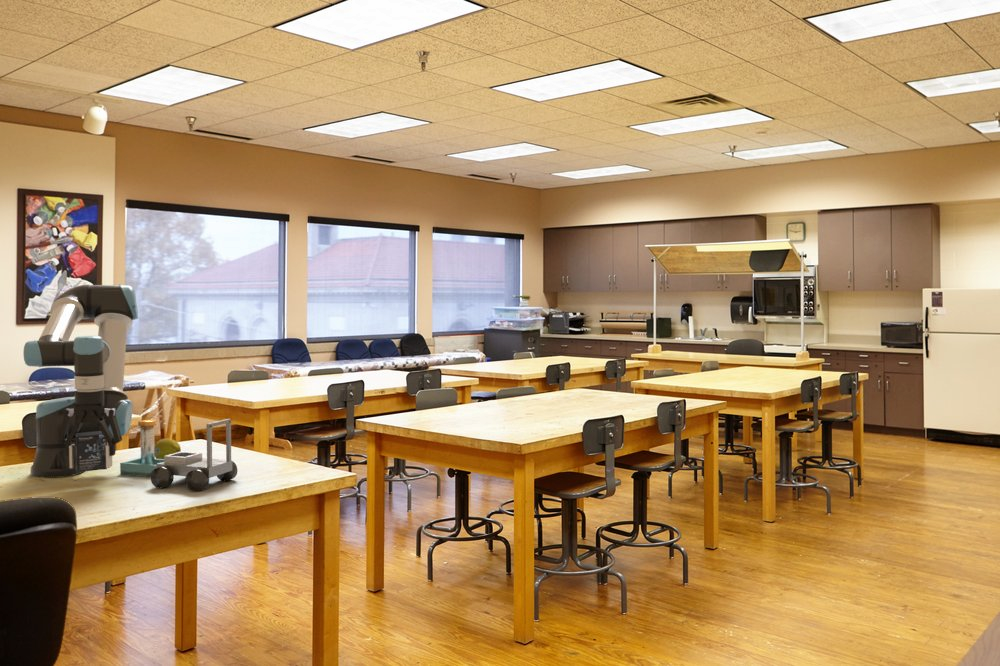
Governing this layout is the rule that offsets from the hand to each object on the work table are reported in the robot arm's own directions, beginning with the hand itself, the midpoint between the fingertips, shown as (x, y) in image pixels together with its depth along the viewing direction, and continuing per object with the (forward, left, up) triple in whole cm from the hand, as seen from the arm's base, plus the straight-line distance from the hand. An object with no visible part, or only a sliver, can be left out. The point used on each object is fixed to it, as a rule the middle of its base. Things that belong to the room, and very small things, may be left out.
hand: (91, 466), depth 233 cm
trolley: (+25, +13, -6) cm, 29 cm away
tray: (+1, +21, -6) cm, 22 cm away
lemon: (-4, +36, -6) cm, 37 cm away
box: (0, 0, -1) cm, 1 cm away
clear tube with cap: (+1, +21, -5) cm, 22 cm away
